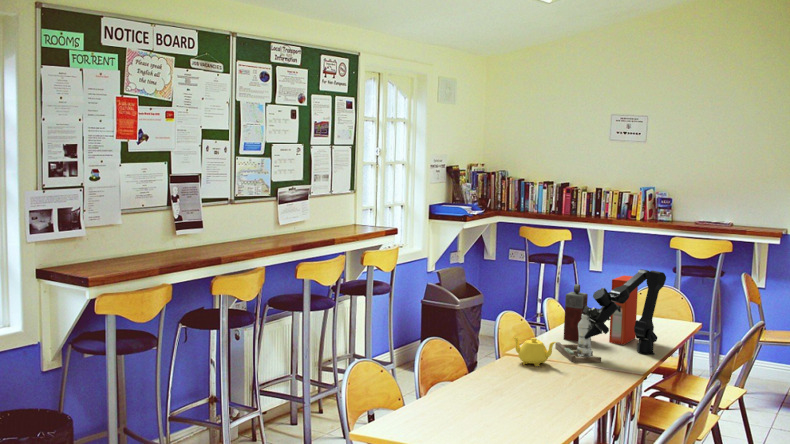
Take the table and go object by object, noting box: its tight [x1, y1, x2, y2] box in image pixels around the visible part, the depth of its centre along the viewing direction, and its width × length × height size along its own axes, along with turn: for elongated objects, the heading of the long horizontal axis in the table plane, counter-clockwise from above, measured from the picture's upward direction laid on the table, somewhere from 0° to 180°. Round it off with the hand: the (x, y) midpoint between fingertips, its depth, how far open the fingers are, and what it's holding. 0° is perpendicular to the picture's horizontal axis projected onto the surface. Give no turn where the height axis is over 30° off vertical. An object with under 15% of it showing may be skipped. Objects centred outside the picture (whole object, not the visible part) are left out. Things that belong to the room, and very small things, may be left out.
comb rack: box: [554, 341, 602, 363], centre depth 362 cm, size 14×24×4 cm, turn 5°
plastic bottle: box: [576, 313, 593, 357], centre depth 356 cm, size 6×7×20 cm
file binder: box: [608, 275, 639, 346], centre depth 393 cm, size 8×17×32 cm, turn 146°
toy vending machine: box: [563, 283, 589, 343], centre depth 393 cm, size 9×11×28 cm
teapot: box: [512, 335, 557, 367], centre depth 346 cm, size 20×15×12 cm
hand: (582, 336), depth 356 cm, fingers closed on plastic bottle, 6 cm apart
